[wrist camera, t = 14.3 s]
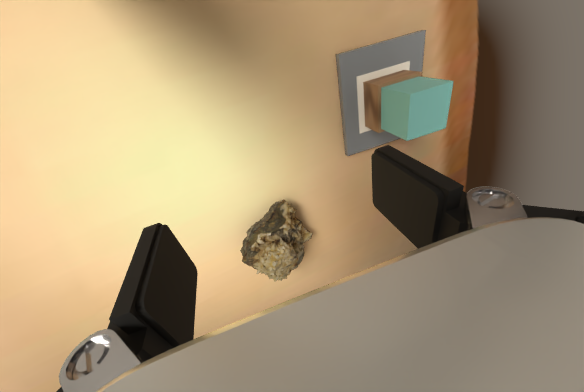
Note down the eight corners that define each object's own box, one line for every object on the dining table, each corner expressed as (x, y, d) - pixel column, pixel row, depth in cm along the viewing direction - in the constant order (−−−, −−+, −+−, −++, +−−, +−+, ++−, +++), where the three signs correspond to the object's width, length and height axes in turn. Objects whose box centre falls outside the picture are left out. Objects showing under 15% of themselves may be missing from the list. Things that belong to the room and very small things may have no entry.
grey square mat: (335, 54, 35) (339, 54, 34) (420, 30, 36) (426, 30, 35) (345, 154, 44) (348, 156, 43) (413, 131, 45) (417, 133, 44)
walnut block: (363, 82, 37) (378, 85, 33) (403, 69, 37) (422, 71, 34) (365, 126, 40) (378, 133, 37) (401, 114, 41) (418, 119, 38)
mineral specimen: (321, 230, 52) (341, 264, 44) (275, 265, 53) (287, 304, 45) (281, 189, 44) (297, 221, 36) (228, 232, 45) (232, 272, 37)
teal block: (381, 87, 34) (410, 94, 29) (418, 76, 34) (453, 81, 29) (381, 128, 37) (406, 140, 32) (415, 117, 38) (445, 128, 33)
